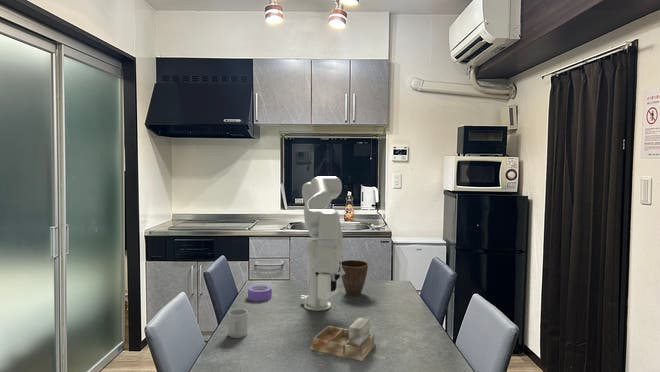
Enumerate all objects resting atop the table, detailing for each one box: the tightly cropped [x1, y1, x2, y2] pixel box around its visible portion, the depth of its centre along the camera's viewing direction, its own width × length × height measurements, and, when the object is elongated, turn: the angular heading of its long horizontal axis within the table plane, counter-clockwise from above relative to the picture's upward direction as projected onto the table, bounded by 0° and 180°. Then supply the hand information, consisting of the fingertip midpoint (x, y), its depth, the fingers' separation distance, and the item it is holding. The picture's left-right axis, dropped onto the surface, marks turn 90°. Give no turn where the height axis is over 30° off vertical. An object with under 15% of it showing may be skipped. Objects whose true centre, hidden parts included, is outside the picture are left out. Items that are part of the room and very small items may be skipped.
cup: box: [228, 308, 249, 339], centre depth 158 cm, size 7×10×9 cm
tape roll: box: [247, 284, 273, 302], centre depth 205 cm, size 12×12×5 cm
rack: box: [310, 317, 377, 362], centre depth 149 cm, size 20×14×10 cm
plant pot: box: [340, 259, 369, 297], centre depth 212 cm, size 15×15×16 cm
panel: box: [318, 272, 339, 300], centre depth 159 cm, size 4×10×9 cm, turn 156°
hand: (327, 289), depth 159 cm, fingers closed on panel, 4 cm apart
